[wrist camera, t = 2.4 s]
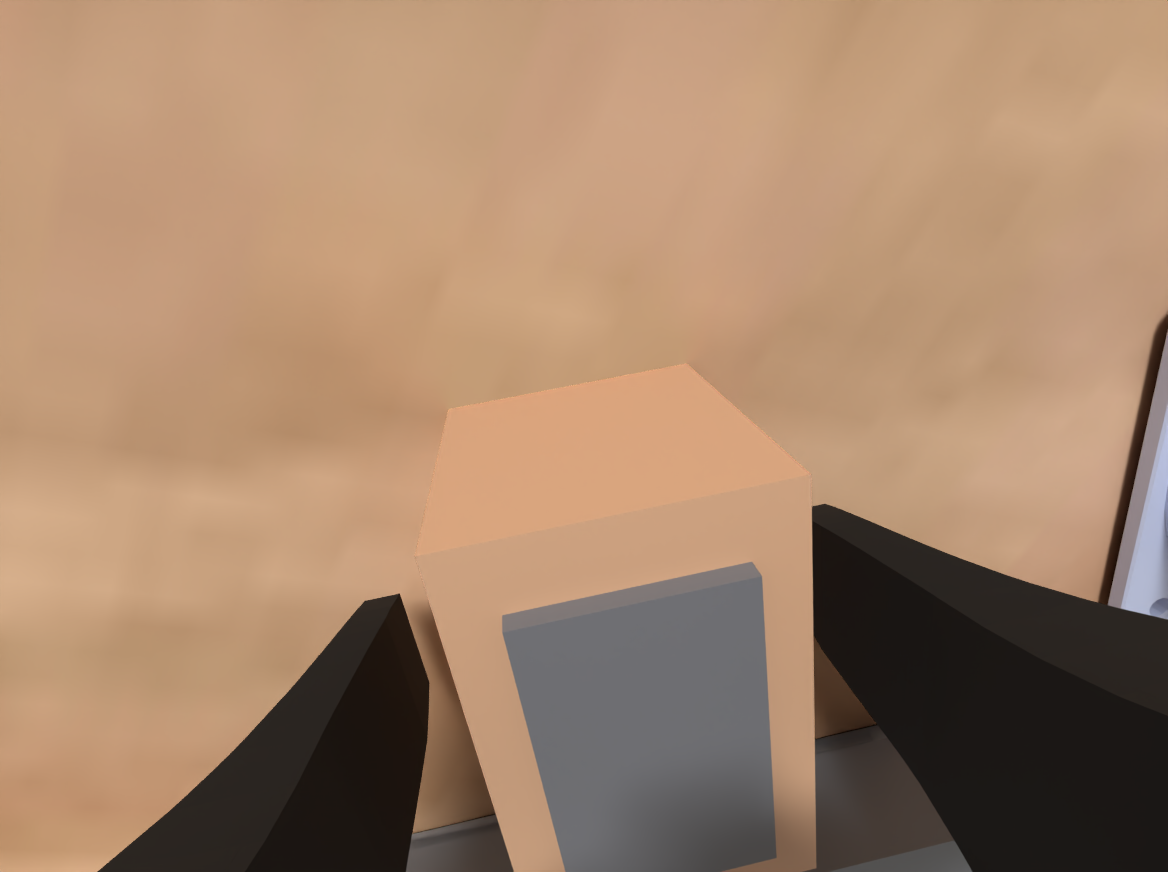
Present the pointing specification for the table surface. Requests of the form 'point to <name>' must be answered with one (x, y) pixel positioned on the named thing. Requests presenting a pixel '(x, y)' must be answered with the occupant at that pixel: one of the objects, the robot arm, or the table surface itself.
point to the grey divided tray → (843, 819)
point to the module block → (630, 625)
